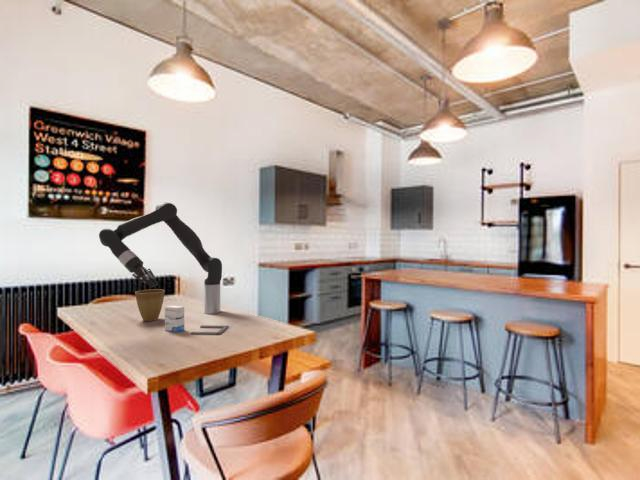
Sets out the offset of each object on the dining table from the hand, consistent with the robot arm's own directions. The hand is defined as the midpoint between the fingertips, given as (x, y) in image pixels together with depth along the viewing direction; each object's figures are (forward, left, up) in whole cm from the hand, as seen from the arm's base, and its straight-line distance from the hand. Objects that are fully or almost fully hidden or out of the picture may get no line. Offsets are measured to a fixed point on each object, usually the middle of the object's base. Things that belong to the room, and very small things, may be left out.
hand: (154, 285), depth 179 cm
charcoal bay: (0, +28, -22) cm, 36 cm away
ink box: (0, +10, -22) cm, 24 cm away
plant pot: (-20, -13, -22) cm, 33 cm away
